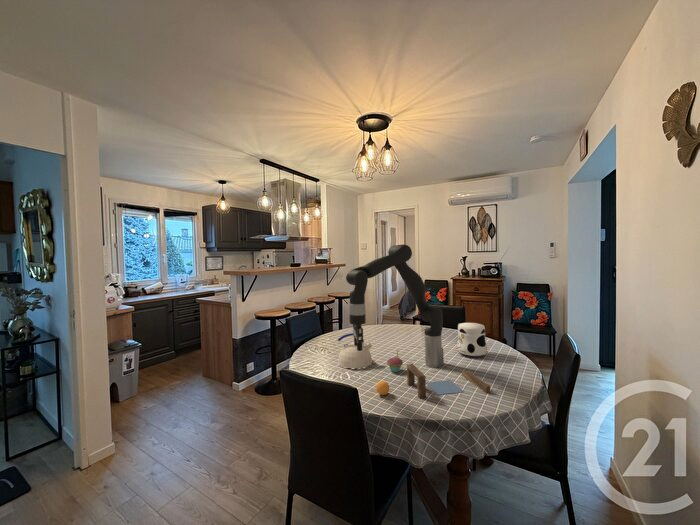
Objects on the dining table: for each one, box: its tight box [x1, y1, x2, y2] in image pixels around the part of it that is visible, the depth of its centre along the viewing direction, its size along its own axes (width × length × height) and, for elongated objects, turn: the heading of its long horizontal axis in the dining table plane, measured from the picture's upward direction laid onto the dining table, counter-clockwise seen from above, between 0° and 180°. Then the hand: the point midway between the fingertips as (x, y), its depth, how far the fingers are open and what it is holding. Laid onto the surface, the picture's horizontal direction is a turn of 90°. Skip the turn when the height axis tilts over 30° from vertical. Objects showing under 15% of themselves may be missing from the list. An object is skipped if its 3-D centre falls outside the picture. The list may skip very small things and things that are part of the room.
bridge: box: [406, 363, 427, 399], centre depth 137 cm, size 3×15×10 cm, turn 10°
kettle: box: [337, 332, 373, 369], centre depth 175 cm, size 20×21×18 cm
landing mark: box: [426, 379, 465, 396], centre depth 139 cm, size 13×13×1 cm
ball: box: [375, 380, 390, 396], centre depth 134 cm, size 6×6×6 cm
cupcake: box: [386, 349, 404, 373], centre depth 161 cm, size 9×8×12 cm
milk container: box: [456, 322, 488, 358], centre depth 183 cm, size 17×17×18 cm
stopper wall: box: [461, 369, 491, 394], centre depth 142 cm, size 2×20×3 cm, turn 9°
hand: (358, 347), depth 137 cm, fingers open, 8 cm apart
